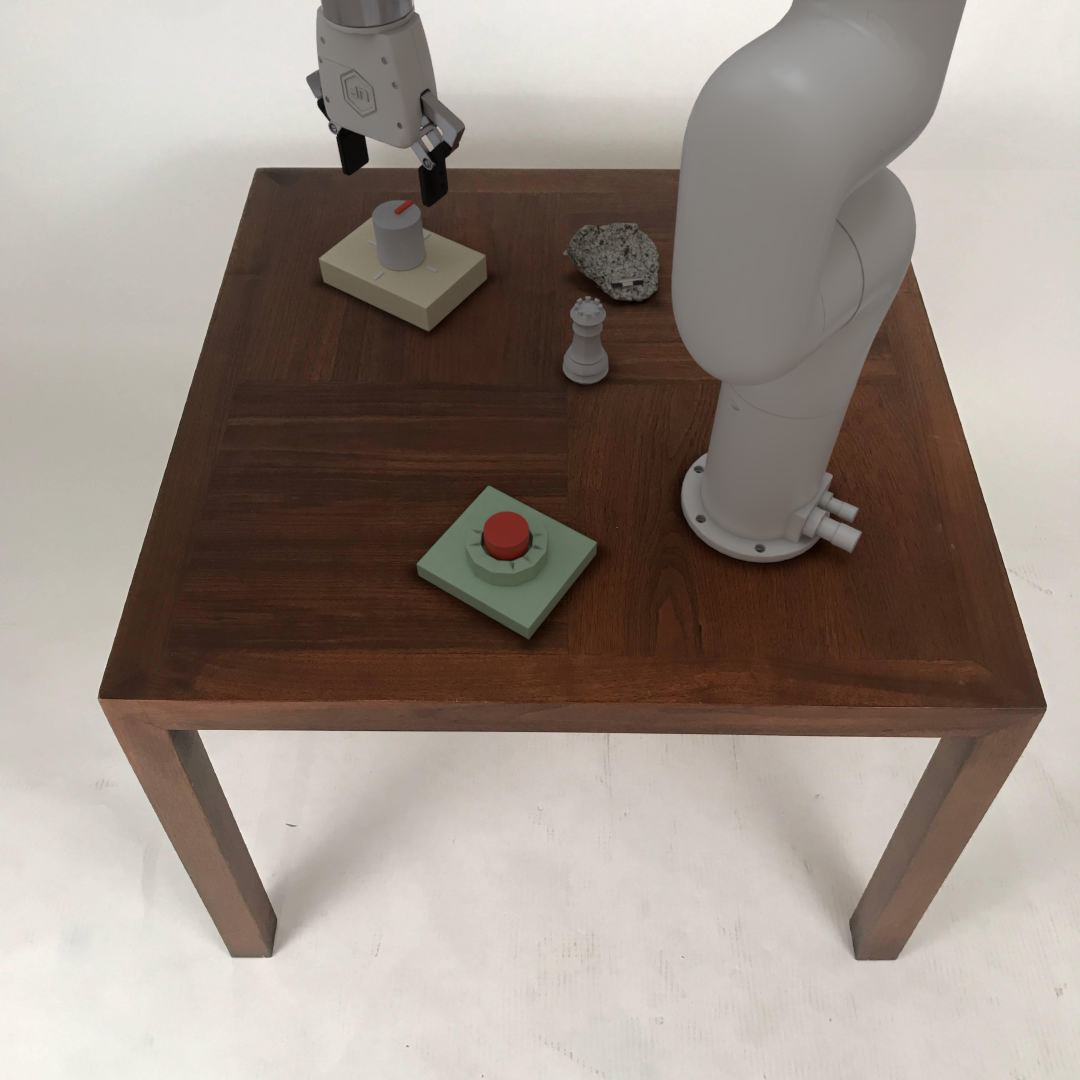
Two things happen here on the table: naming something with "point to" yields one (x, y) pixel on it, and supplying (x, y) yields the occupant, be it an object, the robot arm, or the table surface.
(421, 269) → the panel
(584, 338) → the rook chess piece
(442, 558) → the button block
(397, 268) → the knob
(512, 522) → the button
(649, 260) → the rock sample
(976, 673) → the table surface
